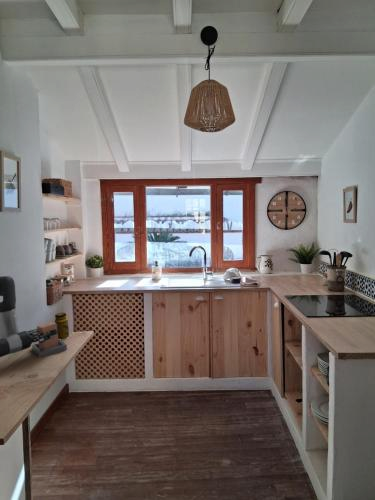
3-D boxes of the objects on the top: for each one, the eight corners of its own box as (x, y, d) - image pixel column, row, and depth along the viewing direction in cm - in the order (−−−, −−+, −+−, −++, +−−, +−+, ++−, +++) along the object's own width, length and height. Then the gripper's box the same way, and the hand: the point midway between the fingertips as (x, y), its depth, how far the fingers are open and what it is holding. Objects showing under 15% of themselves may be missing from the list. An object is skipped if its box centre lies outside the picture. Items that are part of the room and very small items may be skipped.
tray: (32, 349, 170) (32, 344, 170) (58, 342, 177) (58, 337, 177) (39, 357, 160) (38, 352, 160) (66, 349, 167) (66, 345, 167)
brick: (39, 349, 167) (36, 326, 166) (53, 344, 172) (51, 321, 171) (44, 351, 164) (42, 327, 163) (58, 346, 170) (56, 323, 168)
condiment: (72, 336, 184) (70, 313, 182) (56, 341, 178) (53, 317, 176) (65, 333, 189) (63, 310, 187) (49, 338, 183) (47, 315, 182)
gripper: (24, 337, 151) (61, 325, 165) (7, 331, 160) (43, 320, 174) (26, 354, 152) (62, 341, 166) (9, 347, 161) (45, 335, 175)
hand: (52, 330), depth 169 cm, fingers open, 5 cm apart
